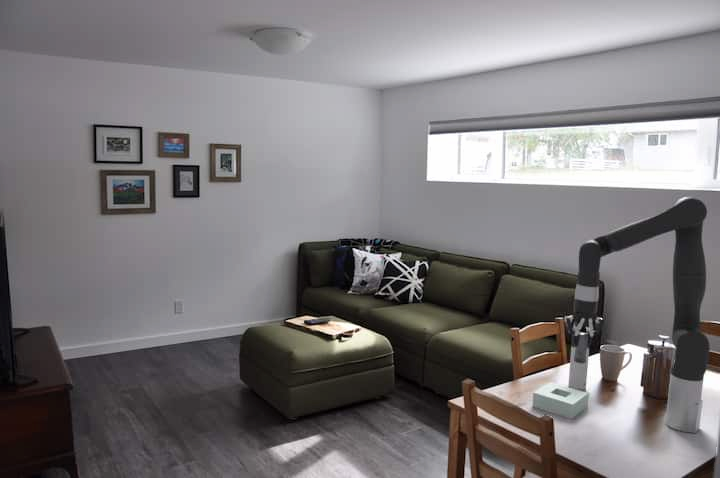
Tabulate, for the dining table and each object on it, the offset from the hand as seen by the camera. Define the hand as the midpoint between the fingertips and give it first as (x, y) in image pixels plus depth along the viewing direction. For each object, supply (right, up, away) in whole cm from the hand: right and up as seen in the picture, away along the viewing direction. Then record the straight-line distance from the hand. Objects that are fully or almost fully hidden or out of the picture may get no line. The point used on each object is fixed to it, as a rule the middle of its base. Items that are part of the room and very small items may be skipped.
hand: (581, 345), depth 194 cm
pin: (0, -6, +1) cm, 6 cm away
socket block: (-7, -22, +2) cm, 23 cm away
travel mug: (+6, -20, +18) cm, 28 cm away
